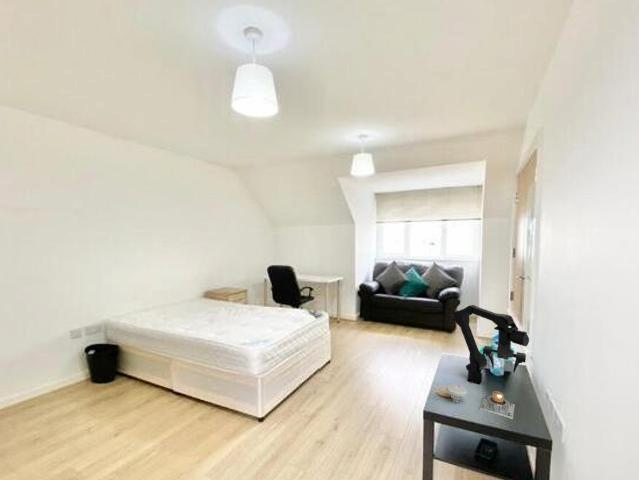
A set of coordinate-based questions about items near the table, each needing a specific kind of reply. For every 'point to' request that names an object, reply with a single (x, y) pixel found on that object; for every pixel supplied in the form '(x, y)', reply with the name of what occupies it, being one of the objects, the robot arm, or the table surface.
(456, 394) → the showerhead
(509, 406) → the clear glass tray
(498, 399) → the pipe stub
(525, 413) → the table surface
